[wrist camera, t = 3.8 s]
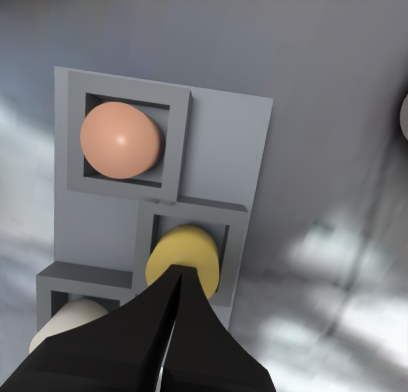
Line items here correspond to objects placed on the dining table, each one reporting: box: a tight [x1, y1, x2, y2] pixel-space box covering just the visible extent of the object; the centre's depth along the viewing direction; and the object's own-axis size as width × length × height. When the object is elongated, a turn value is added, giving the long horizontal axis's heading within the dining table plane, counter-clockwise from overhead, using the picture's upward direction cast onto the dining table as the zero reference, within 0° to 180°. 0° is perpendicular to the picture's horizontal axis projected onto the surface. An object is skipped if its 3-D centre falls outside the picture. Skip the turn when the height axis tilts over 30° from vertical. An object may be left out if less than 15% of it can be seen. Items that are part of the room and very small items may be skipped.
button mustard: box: [145, 225, 219, 299], centre depth 13 cm, size 4×4×2 cm
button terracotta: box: [80, 102, 164, 179], centre depth 13 cm, size 4×4×2 cm
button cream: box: [29, 299, 108, 354], centre depth 14 cm, size 4×4×2 cm
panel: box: [36, 66, 274, 367], centre depth 17 cm, size 14×22×5 cm, turn 172°
